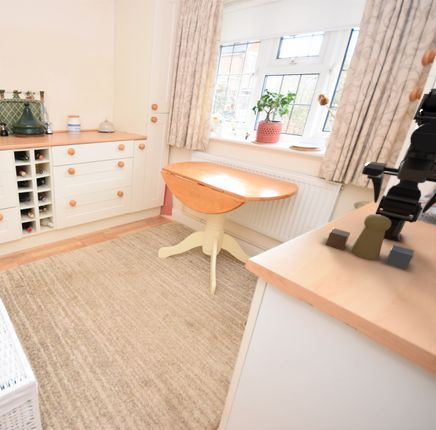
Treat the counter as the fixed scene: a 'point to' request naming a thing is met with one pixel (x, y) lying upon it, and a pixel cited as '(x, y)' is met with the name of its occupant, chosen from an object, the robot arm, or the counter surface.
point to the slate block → (399, 257)
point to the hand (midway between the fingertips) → (398, 207)
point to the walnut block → (337, 238)
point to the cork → (371, 237)
